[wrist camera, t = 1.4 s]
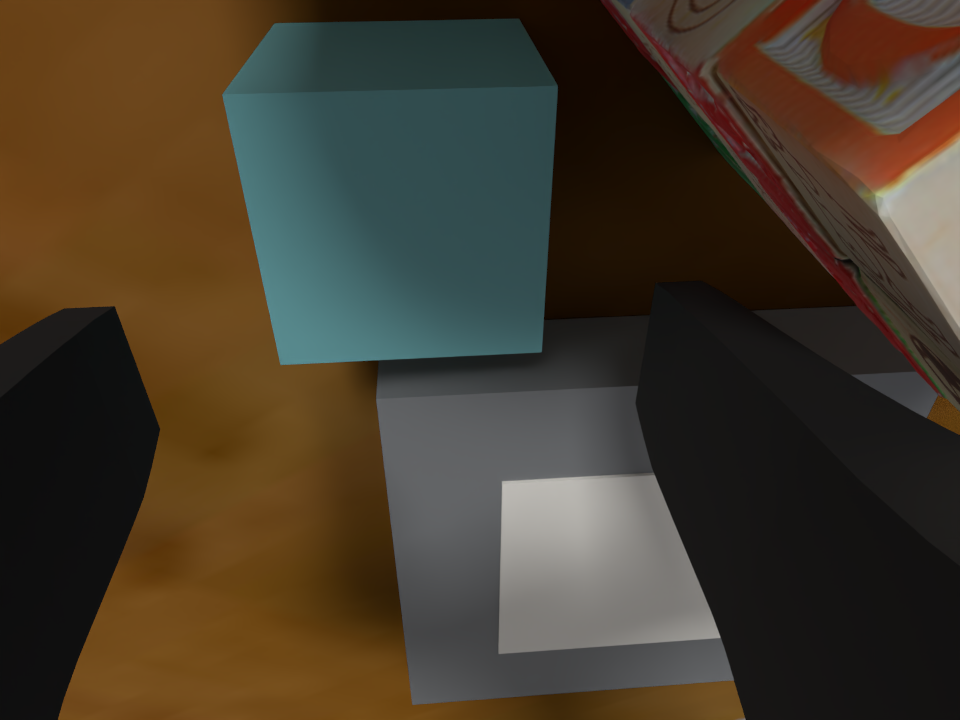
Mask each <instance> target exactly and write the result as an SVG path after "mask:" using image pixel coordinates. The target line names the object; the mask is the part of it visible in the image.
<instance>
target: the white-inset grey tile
mask: <svg viewBox="0 0 960 720" xmlns="http://www.w3.org/2000/svg"><path fill="white" fill-rule="evenodd" d="M752 312H754V313H755V314H757V315H758V316H760V317H761V318H763V319H764V320H766V321H767V322H769V323H770V324H772V325H773V326H775V327H776V328H778V329H779V330H781V331H782V332H784V333H785V334H787V335H788V336H790V337H792V338H793V339H795V340H796V341H798V342H799V343H801V344H802V345H804V346H805V347H807V348H809V349H810V350H812V351H813V352H815V353H816V354H818V355H819V356H821V357H823V358H824V359H826V360H827V361H829V362H831V363H832V364H834V365H835V366H837V367H839V368H840V369H842V370H844V371H845V372H847V373H849V374H850V375H852V376H853V377H855V378H857V379H858V380H860V381H862V382H863V383H865V384H867V385H869V386H870V387H872V388H874V389H876V390H877V391H879V392H881V393H883V394H884V395H886V396H888V397H890V398H891V399H893V400H895V401H897V402H898V403H900V404H902V405H904V406H905V407H907V408H909V409H911V410H912V411H914V412H916V413H918V414H920V415H921V416H923V417H925V418H927V416H928V414H929V412H930V410H931V408H932V406H933V404H934V402H935V400H936V398H937V396H938V394H937V393H936V392H935V391H934V390H933V389H932V388H931V387H930V386H929V384H928V383H927V382H926V381H925V380H924V379H923V378H922V377H921V376H920V375H919V374H918V373H917V372H916V370H915V369H914V368H913V366H912V365H911V364H910V363H909V361H908V360H907V359H906V357H905V356H904V355H903V353H901V352H900V351H898V350H897V349H895V347H894V346H893V345H892V344H891V343H890V341H889V340H888V339H887V338H886V336H885V335H884V334H883V333H882V332H881V330H880V329H879V328H878V327H877V326H876V325H875V324H874V323H873V322H872V321H871V320H870V319H869V318H868V317H867V316H866V315H865V314H864V313H863V312H862V311H861V310H860V309H859V308H858V307H857V306H845V307H822V308H800V309H778V310H755V311H752ZM649 319H650V315H644V316H622V317H599V318H577V319H555V320H544V325H543V341H542V352H539V353H519V354H498V355H477V356H456V357H435V358H414V359H393V360H379V363H378V379H377V394H376V402H377V410H378V419H379V427H380V436H381V444H382V452H383V461H384V469H385V478H386V486H387V495H388V503H389V511H390V520H391V528H392V537H393V545H394V554H395V562H396V570H397V579H398V587H399V596H400V604H401V612H402V621H403V629H404V638H405V646H406V655H407V663H408V671H409V680H410V688H411V697H412V705H415V704H428V703H441V702H454V701H467V700H480V699H493V698H507V697H520V696H533V695H546V694H559V693H572V692H585V691H598V690H612V689H625V688H638V687H651V686H664V685H677V684H690V683H703V682H716V681H730V680H734V678H733V675H732V672H731V668H730V665H729V662H728V658H727V655H726V652H725V648H724V646H723V643H722V640H721V637H720V635H719V632H718V629H717V626H716V624H715V621H714V618H713V615H712V613H711V610H710V608H709V606H708V603H707V601H706V598H705V596H704V593H703V591H702V589H701V586H700V584H699V581H698V579H697V577H696V574H695V572H694V569H693V567H692V565H691V562H690V560H689V557H688V555H687V553H686V550H685V548H684V545H683V543H682V541H681V538H680V536H679V533H678V531H677V529H676V526H675V524H674V521H673V519H672V517H671V514H670V512H669V509H668V507H667V504H666V502H665V499H664V497H663V494H662V492H661V490H660V487H659V485H658V482H657V480H656V477H655V474H654V472H653V469H652V467H651V463H650V459H649V456H648V452H647V448H646V445H645V441H644V437H643V433H642V429H641V425H640V421H639V417H638V413H637V409H636V404H635V402H636V396H637V390H638V384H639V378H640V372H641V366H642V360H643V354H644V348H645V342H646V336H647V330H648V324H649Z"/></svg>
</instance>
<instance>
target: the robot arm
mask: <svg viewBox="0 0 960 720" xmlns="http://www.w3.org/2000/svg"><path fill="white" fill-rule="evenodd" d="M635 404H636V409H637V413H638V417H639V421H640V425H641V429H642V433H643V437H644V441H645V445H646V448H647V452H648V456H649V459H650V463H651V467H652V469H653V472H654V474H655V477H656V480H657V482H658V485H659V487H660V490H661V492H662V494H663V497H664V499H665V502H666V504H667V507H668V509H669V512H670V514H671V517H672V519H673V521H674V524H675V526H676V529H677V531H678V533H679V536H680V538H681V541H682V543H683V545H684V548H685V550H686V553H687V555H688V557H689V560H690V562H691V565H692V567H693V569H694V572H695V574H696V577H697V579H698V581H699V584H700V586H701V589H702V591H703V593H704V596H705V598H706V601H707V603H708V606H709V608H710V610H711V613H712V615H713V618H714V621H715V624H716V626H717V629H718V632H719V635H720V637H721V640H722V643H723V646H724V648H725V652H726V655H727V658H728V662H729V665H730V668H731V672H732V675H733V678H734V682H735V685H736V688H737V692H738V695H739V698H740V702H741V705H742V708H743V712H744V715H745V718H746V720H960V435H958V434H956V433H954V432H952V431H950V430H948V429H946V428H944V427H942V426H940V425H938V424H937V423H935V422H933V421H931V420H929V419H927V418H925V417H923V416H921V415H920V414H918V413H916V412H914V411H912V410H911V409H909V408H907V407H905V406H904V405H902V404H900V403H898V402H897V401H895V400H893V399H891V398H890V397H888V396H886V395H884V394H883V393H881V392H879V391H877V390H876V389H874V388H872V387H870V386H869V385H867V384H865V383H863V382H862V381H860V380H858V379H857V378H855V377H853V376H852V375H850V374H849V373H847V372H845V371H844V370H842V369H840V368H839V367H837V366H835V365H834V364H832V363H831V362H829V361H827V360H826V359H824V358H823V357H821V356H819V355H818V354H816V353H815V352H813V351H812V350H810V349H809V348H807V347H805V346H804V345H802V344H801V343H799V342H798V341H796V340H795V339H793V338H792V337H790V336H788V335H787V334H785V333H784V332H782V331H781V330H779V329H778V328H776V327H775V326H773V325H772V324H770V323H769V322H767V321H766V320H764V319H763V318H761V317H760V316H758V315H757V314H755V313H754V312H752V311H750V310H749V309H747V308H746V307H744V306H743V305H741V304H740V303H738V302H737V301H735V300H733V299H732V298H730V297H729V296H727V295H726V294H724V293H722V292H721V291H719V290H717V289H716V288H714V287H712V286H710V285H708V284H707V283H705V282H703V281H686V282H663V283H655V289H654V295H653V301H652V307H651V313H650V319H649V324H648V330H647V336H646V342H645V348H644V354H643V360H642V366H641V372H640V378H639V384H638V390H637V396H636V402H635ZM159 432H160V428H159V425H158V422H157V420H156V417H155V414H154V411H153V409H152V406H151V403H150V401H149V398H148V395H147V393H146V390H145V387H144V384H143V382H142V379H141V376H140V374H139V371H138V368H137V366H136V363H135V360H134V357H133V355H132V352H131V349H130V347H129V344H128V341H127V339H126V336H125V333H124V330H123V328H122V325H121V322H120V320H119V317H118V314H117V312H116V309H115V306H113V307H90V308H67V309H63V310H61V311H58V312H56V313H54V314H52V315H50V316H48V317H46V318H45V319H43V320H41V321H39V322H37V323H36V324H34V325H32V326H30V327H29V328H27V329H25V330H24V331H22V332H20V333H19V334H17V335H15V336H14V337H12V338H10V339H9V340H7V341H5V342H4V343H2V344H1V345H0V720H58V717H59V713H60V710H61V706H62V703H63V700H64V697H65V694H66V691H67V688H68V685H69V683H70V680H71V677H72V674H73V672H74V669H75V666H76V663H77V661H78V658H79V655H80V653H81V651H82V648H83V646H84V643H85V641H86V638H87V636H88V634H89V631H90V629H91V626H92V624H93V621H94V619H95V617H96V614H97V612H98V609H99V607H100V604H101V602H102V600H103V597H104V595H105V592H106V590H107V587H108V585H109V583H110V580H111V578H112V575H113V573H114V571H115V568H116V566H117V563H118V561H119V558H120V556H121V554H122V551H123V549H124V546H125V544H126V541H127V539H128V536H129V534H130V531H131V529H132V526H133V524H134V521H135V519H136V516H137V514H138V511H139V508H140V506H141V503H142V500H143V498H144V494H145V491H146V487H147V483H148V479H149V475H150V471H151V468H152V463H153V459H154V454H155V450H156V445H157V441H158V436H159Z"/></svg>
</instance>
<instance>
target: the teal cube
mask: <svg viewBox="0 0 960 720" xmlns="http://www.w3.org/2000/svg"><path fill="white" fill-rule="evenodd" d="M557 94H558V85H557V83H556V82H555V80H554V78H553V76H552V75H551V73H550V71H549V70H548V68H547V66H546V64H545V63H544V61H543V59H542V57H541V56H540V54H539V52H538V51H537V49H536V47H535V45H534V44H533V42H532V40H531V38H530V37H529V35H528V33H527V32H526V30H525V28H524V26H523V25H522V23H521V21H520V19H471V20H419V21H367V22H315V23H274V25H273V26H272V28H271V29H270V30H269V32H268V33H267V34H266V36H265V37H264V38H263V40H262V41H261V43H260V44H259V45H258V47H257V48H256V49H255V51H254V52H253V53H252V55H251V56H250V57H249V59H248V60H247V62H246V63H245V64H244V66H243V67H242V68H241V70H240V71H239V72H238V74H237V75H236V77H235V78H234V79H233V81H232V82H231V83H230V85H229V86H228V87H227V89H226V90H225V91H224V93H223V94H222V95H223V100H224V104H225V109H226V114H227V118H228V123H229V128H230V132H231V137H232V142H233V146H234V151H235V155H236V160H237V165H238V169H239V174H240V179H241V183H242V188H243V193H244V197H245V202H246V207H247V211H248V216H249V220H250V225H251V230H252V234H253V239H254V244H255V248H256V253H257V258H258V262H259V267H260V271H261V276H262V281H263V285H264V290H265V295H266V299H267V304H268V309H269V313H270V318H271V323H272V327H273V332H274V336H275V341H276V346H277V350H278V355H279V360H280V364H281V365H288V364H309V363H330V362H351V361H372V360H393V359H414V358H435V357H456V356H477V355H498V354H519V353H539V352H542V341H543V325H544V308H545V292H546V275H547V259H548V242H549V226H550V209H551V193H552V177H553V160H554V144H555V127H556V111H557Z"/></svg>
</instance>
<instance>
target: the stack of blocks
mask: <svg viewBox="0 0 960 720" xmlns="http://www.w3.org/2000/svg"><path fill="white" fill-rule="evenodd" d="M600 1H601V2H602V4H603V5H604V6H605V8H606V9H607V10H608V12H609V13H610V14H611V15H612V17H613V18H614V19H615V21H616V22H617V23H618V24H619V26H620V27H621V28H622V30H623V31H624V32H625V33H626V35H627V36H628V37H629V38H630V40H631V41H632V42H633V43H634V45H635V46H636V48H637V49H638V50H639V52H640V53H641V54H642V55H643V56H644V57H645V58H646V59H647V60H648V61H649V62H650V63H651V64H652V65H653V67H654V68H655V69H656V70H657V71H658V72H659V73H660V75H661V76H662V77H663V79H664V80H665V81H666V82H667V84H668V85H669V86H670V88H671V89H672V90H673V92H674V93H675V94H676V96H677V97H678V98H679V100H680V101H681V102H682V104H683V105H684V106H685V108H686V109H687V110H688V112H689V113H690V114H691V116H692V117H693V118H694V120H695V121H696V122H697V123H698V125H699V126H700V127H701V129H702V130H703V131H704V133H705V134H706V135H707V136H708V138H709V139H710V141H711V142H712V143H713V145H714V146H715V148H716V149H717V151H718V152H719V153H720V154H721V155H722V156H723V158H724V159H725V160H726V161H727V162H728V163H729V164H730V165H731V166H732V167H733V168H734V169H735V170H736V172H737V173H738V174H739V175H740V176H741V177H742V178H743V179H744V180H745V181H746V182H747V183H748V184H749V185H750V186H751V187H752V188H753V189H754V190H755V191H756V192H757V193H758V195H759V196H760V197H761V198H762V199H763V200H764V201H765V202H766V203H767V204H768V205H769V206H770V208H771V209H772V210H773V211H774V212H775V213H776V214H777V215H778V217H779V218H780V219H781V220H782V221H783V222H784V223H785V225H786V226H787V227H788V228H789V229H790V230H791V231H792V232H793V234H794V235H795V236H796V237H797V238H798V239H799V240H800V241H801V242H802V244H803V245H804V246H805V247H806V248H807V249H808V250H809V251H810V252H811V254H812V255H813V256H814V257H815V258H816V259H817V260H818V261H819V262H820V264H821V265H822V266H823V267H824V268H825V269H826V270H827V271H828V272H829V273H830V274H831V275H832V276H833V277H834V278H835V279H836V281H837V282H838V283H839V284H840V286H841V287H842V288H843V289H844V291H845V292H846V293H847V294H848V295H849V297H850V298H851V299H852V300H853V301H854V302H855V304H856V305H857V307H858V308H859V309H860V310H861V311H862V312H863V313H864V314H865V315H866V316H867V317H868V318H869V319H870V320H871V321H872V322H873V323H874V324H875V325H876V326H877V327H878V328H879V329H880V330H881V332H882V333H883V334H884V335H885V336H886V338H887V339H888V340H889V341H890V343H891V344H892V345H893V346H894V347H895V349H897V350H898V351H900V352H901V353H903V355H904V356H905V357H906V359H907V360H908V361H909V363H910V364H911V365H912V366H913V368H914V369H915V370H916V372H917V373H918V374H919V375H920V376H921V377H922V378H923V379H924V380H925V381H926V382H927V383H928V384H929V386H930V387H931V388H932V389H933V390H934V391H935V392H936V393H937V394H938V395H939V396H941V397H943V398H946V399H948V400H949V401H950V402H951V403H952V404H953V405H954V406H955V407H956V408H957V409H958V410H959V411H960V0H600Z"/></svg>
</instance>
